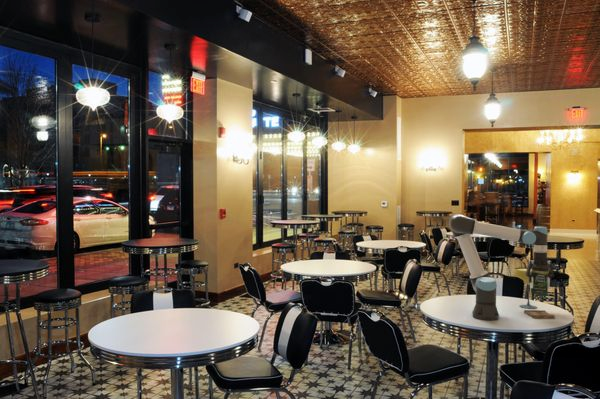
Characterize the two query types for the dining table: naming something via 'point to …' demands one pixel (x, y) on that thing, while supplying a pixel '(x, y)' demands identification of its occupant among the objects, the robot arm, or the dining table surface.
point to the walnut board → (538, 314)
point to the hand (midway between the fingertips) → (539, 288)
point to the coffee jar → (540, 280)
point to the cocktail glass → (522, 275)
